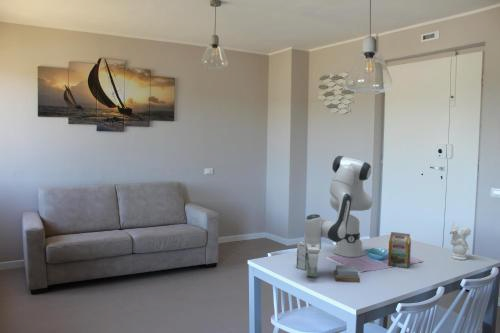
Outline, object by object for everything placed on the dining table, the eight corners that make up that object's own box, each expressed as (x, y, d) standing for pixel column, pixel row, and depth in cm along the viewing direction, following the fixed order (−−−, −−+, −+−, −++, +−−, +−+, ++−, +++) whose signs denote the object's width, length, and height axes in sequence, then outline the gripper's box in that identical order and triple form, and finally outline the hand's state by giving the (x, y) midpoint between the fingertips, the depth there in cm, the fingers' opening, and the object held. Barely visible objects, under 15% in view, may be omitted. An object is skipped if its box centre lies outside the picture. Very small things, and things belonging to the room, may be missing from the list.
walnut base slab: (333, 275, 241) (333, 270, 241) (356, 276, 240) (356, 270, 240) (336, 282, 229) (336, 277, 229) (359, 283, 228) (359, 278, 228)
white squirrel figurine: (471, 260, 271) (474, 224, 269) (456, 262, 266) (458, 226, 264) (455, 254, 282) (458, 220, 280) (440, 256, 278) (442, 222, 276)
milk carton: (388, 265, 257) (389, 233, 256) (391, 261, 266) (392, 230, 265) (407, 268, 252) (408, 235, 251) (410, 263, 261) (411, 232, 260)
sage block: (306, 273, 240) (307, 262, 239) (316, 273, 239) (316, 262, 239) (307, 276, 235) (307, 264, 234) (316, 276, 234) (317, 265, 234)
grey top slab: (335, 270, 240) (335, 265, 239) (354, 271, 239) (354, 265, 239) (338, 276, 230) (338, 271, 229) (357, 277, 229) (358, 271, 229)
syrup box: (301, 265, 255) (302, 241, 254) (310, 267, 251) (311, 242, 250) (296, 268, 251) (296, 242, 250) (305, 270, 247) (305, 244, 246)
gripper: (305, 240, 246) (305, 264, 247) (307, 250, 226) (306, 276, 227) (317, 240, 246) (316, 265, 247) (319, 250, 225) (319, 277, 226)
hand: (312, 270), depth 237 cm, fingers closed on sage block, 5 cm apart
